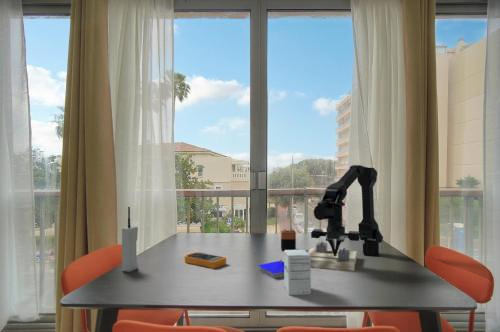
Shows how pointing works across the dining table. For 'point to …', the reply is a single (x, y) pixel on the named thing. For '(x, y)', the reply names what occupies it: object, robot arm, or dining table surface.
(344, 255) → the switch tab
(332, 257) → the switch board
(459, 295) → the dining table surface
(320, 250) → the switch tab
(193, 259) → the multimeter
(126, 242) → the vintage mobile phone
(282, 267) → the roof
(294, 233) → the battery
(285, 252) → the supplement box
